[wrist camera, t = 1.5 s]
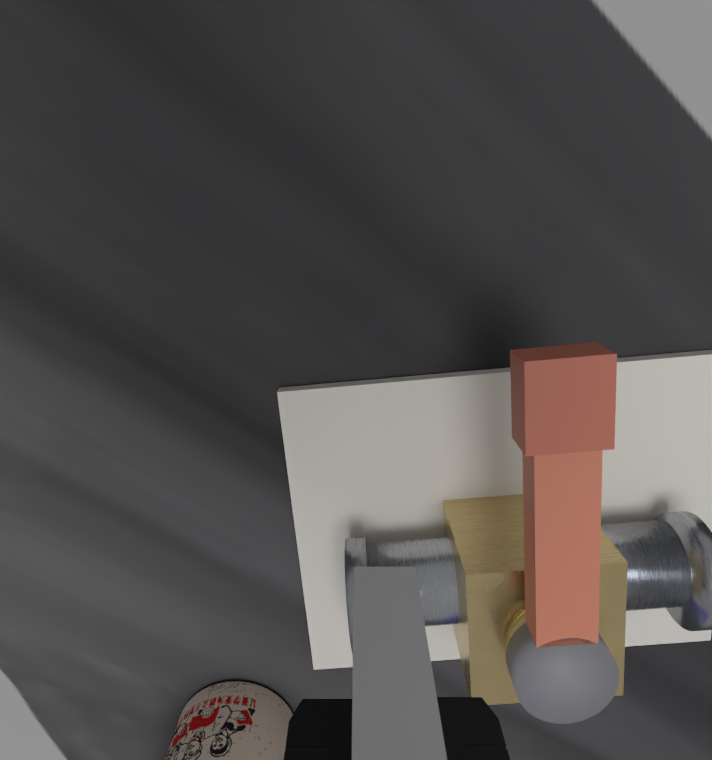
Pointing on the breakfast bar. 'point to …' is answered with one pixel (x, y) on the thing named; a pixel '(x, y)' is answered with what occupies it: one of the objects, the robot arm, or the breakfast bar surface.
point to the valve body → (507, 580)
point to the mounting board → (474, 471)
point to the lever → (562, 528)
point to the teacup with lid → (231, 724)
